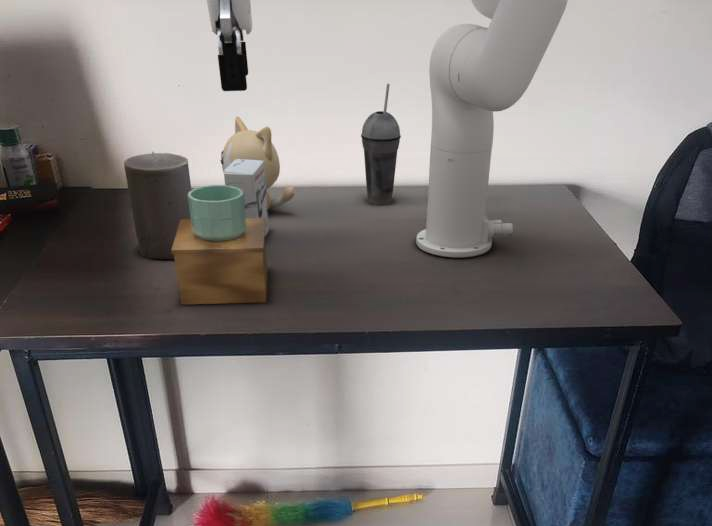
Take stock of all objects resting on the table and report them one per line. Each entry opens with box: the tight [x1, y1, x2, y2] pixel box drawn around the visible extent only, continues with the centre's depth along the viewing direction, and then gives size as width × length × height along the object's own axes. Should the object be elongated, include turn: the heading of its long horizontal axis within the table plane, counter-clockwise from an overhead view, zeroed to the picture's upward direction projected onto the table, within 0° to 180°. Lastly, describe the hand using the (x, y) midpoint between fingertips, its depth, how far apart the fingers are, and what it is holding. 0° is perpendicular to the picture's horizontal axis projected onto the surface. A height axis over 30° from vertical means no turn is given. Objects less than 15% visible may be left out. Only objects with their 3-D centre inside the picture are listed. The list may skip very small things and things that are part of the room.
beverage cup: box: [360, 83, 402, 206], centre depth 140 cm, size 7×7×20 cm
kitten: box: [219, 116, 296, 211], centre depth 137 cm, size 15×10×15 cm
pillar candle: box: [123, 151, 192, 260], centre depth 121 cm, size 10×10×15 cm
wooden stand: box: [171, 218, 268, 306], centre depth 111 cm, size 12×12×8 cm
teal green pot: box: [188, 184, 246, 241], centre depth 107 cm, size 8×8×6 cm
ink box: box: [223, 159, 270, 237], centre depth 126 cm, size 9×5×12 cm, turn 174°
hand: (235, 82), depth 101 cm, fingers open, 9 cm apart
